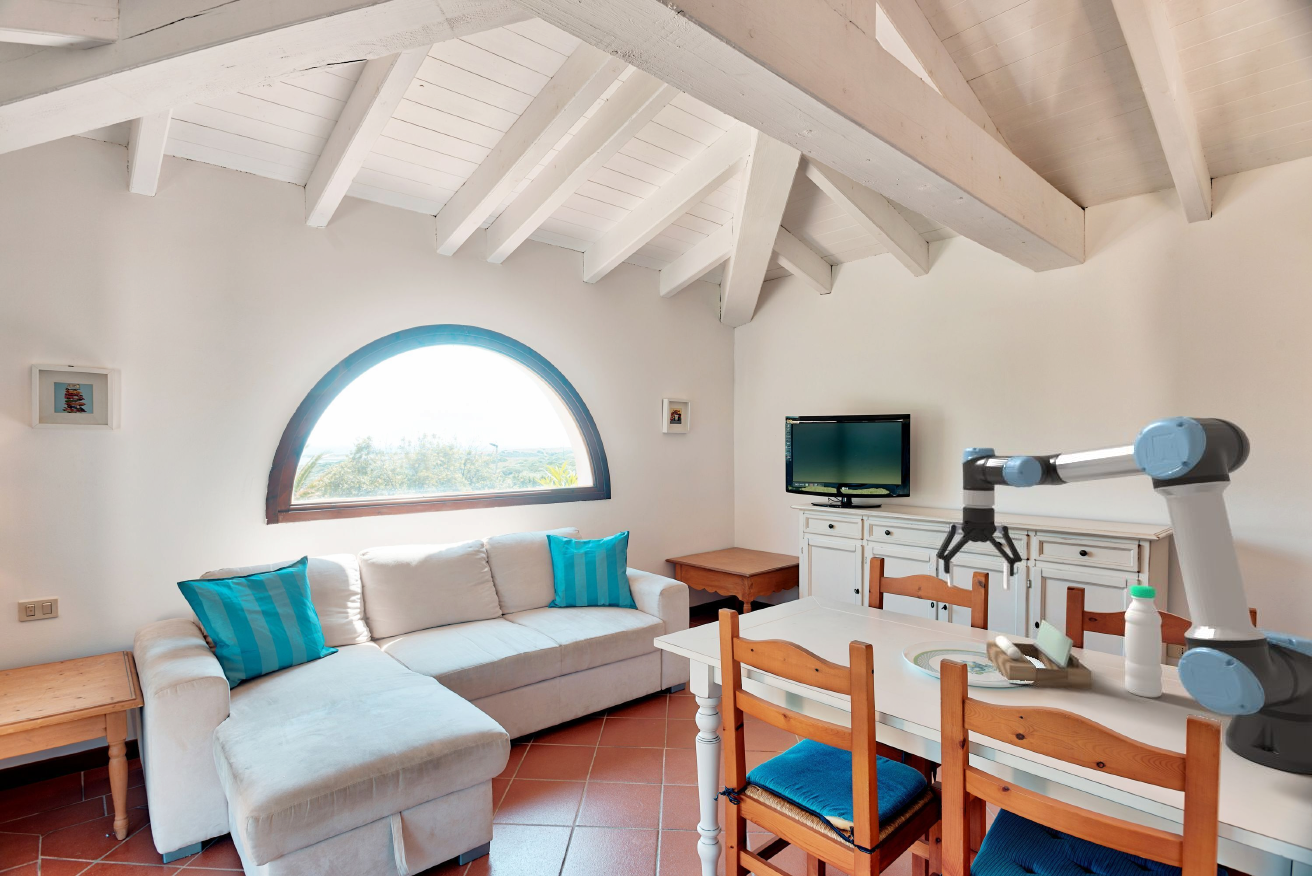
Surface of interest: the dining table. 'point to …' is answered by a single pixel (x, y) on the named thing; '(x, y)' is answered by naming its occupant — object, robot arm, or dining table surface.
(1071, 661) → the wooden tray
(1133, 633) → the water bottle
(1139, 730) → the dining table surface
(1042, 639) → the cover
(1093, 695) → the dining table surface
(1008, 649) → the white rounded cylinder
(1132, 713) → the dining table surface
